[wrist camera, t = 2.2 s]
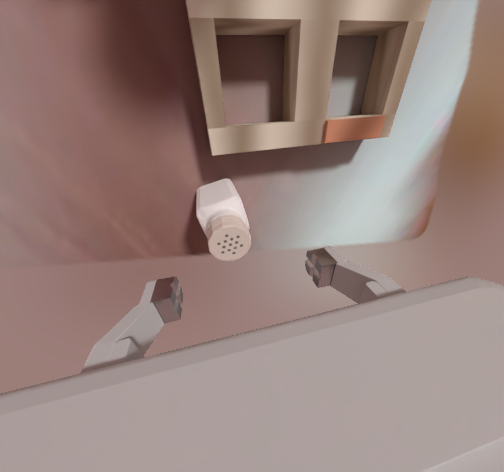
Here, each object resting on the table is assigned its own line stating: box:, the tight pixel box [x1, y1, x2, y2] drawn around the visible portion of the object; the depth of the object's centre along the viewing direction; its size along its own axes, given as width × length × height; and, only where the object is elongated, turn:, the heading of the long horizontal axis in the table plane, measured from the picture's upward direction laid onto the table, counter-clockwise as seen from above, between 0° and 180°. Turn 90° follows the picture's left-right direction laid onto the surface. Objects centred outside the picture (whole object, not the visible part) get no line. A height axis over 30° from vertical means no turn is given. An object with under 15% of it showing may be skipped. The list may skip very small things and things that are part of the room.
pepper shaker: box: [196, 179, 251, 261], centre depth 17 cm, size 4×4×10 cm
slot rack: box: [185, 0, 431, 156], centre depth 16 cm, size 18×10×3 cm, turn 94°
